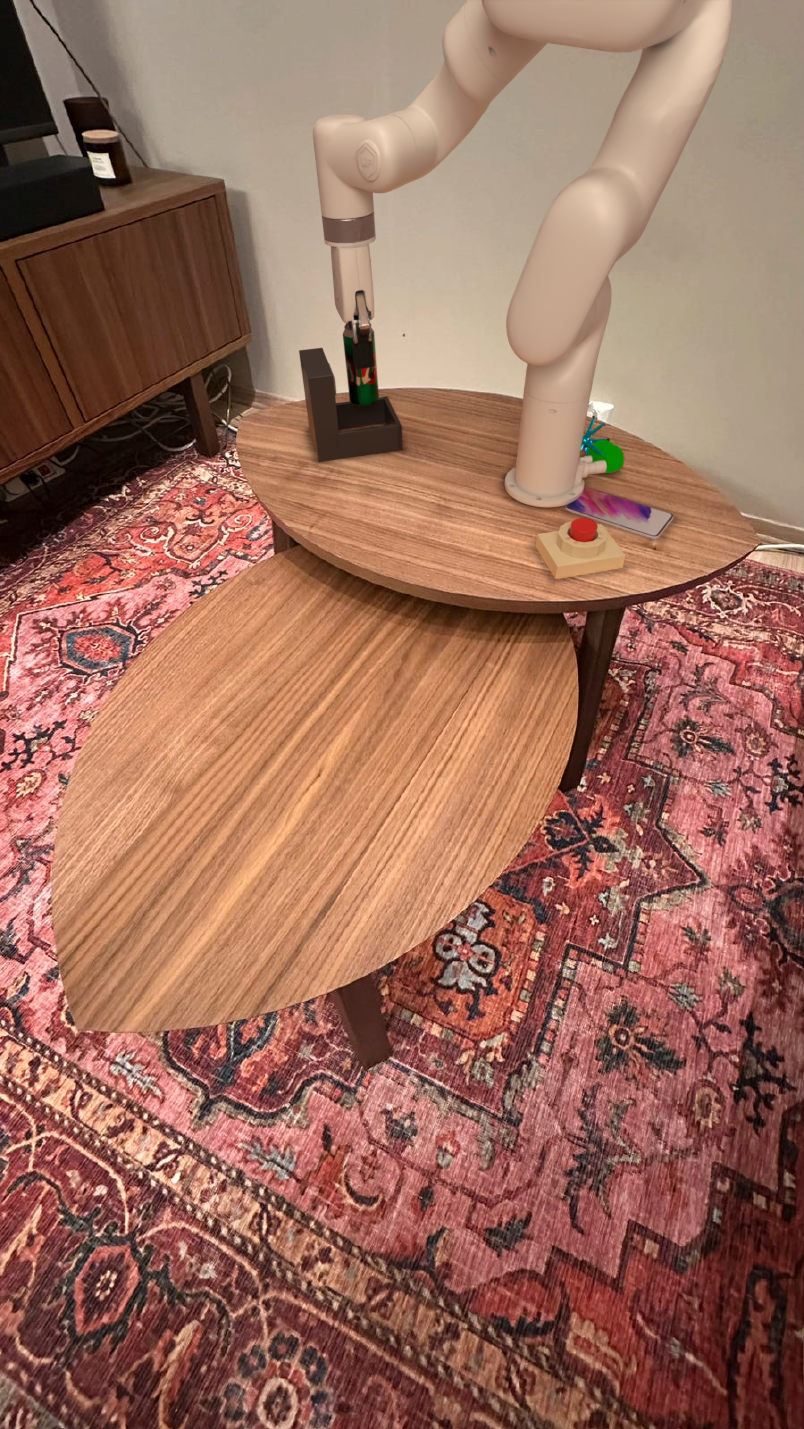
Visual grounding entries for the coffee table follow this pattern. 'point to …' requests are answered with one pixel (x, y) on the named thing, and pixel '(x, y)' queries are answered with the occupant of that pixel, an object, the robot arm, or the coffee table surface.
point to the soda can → (360, 373)
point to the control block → (579, 552)
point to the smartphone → (621, 513)
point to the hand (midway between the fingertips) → (360, 359)
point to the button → (583, 530)
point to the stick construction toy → (602, 449)
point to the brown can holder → (344, 415)
